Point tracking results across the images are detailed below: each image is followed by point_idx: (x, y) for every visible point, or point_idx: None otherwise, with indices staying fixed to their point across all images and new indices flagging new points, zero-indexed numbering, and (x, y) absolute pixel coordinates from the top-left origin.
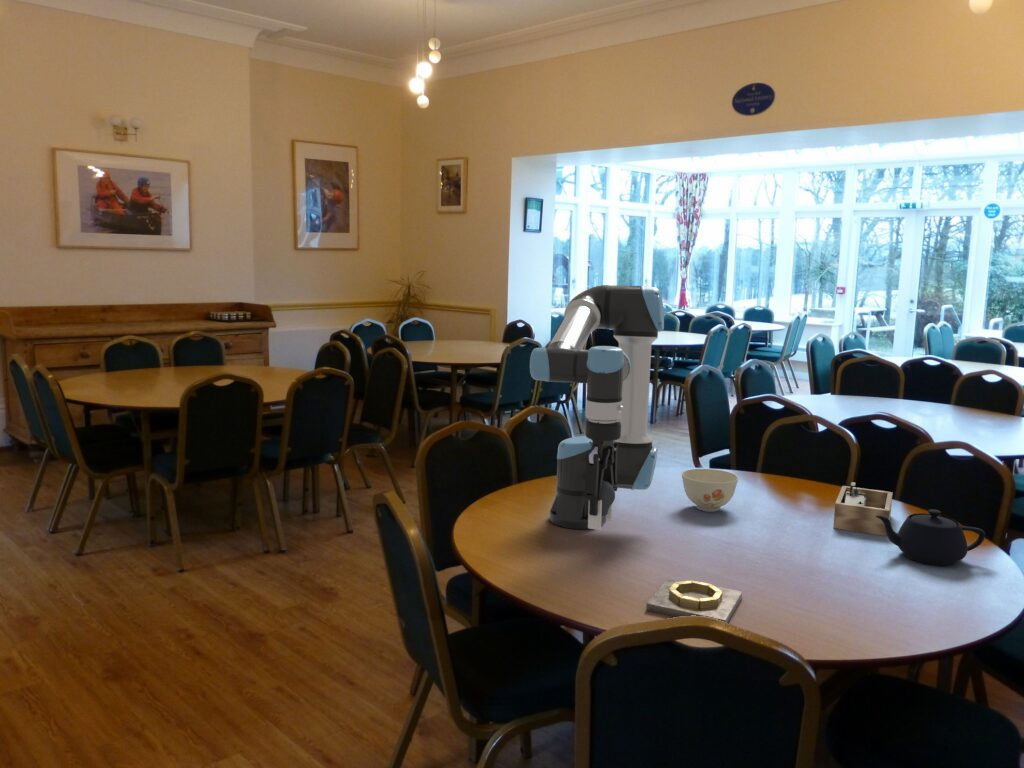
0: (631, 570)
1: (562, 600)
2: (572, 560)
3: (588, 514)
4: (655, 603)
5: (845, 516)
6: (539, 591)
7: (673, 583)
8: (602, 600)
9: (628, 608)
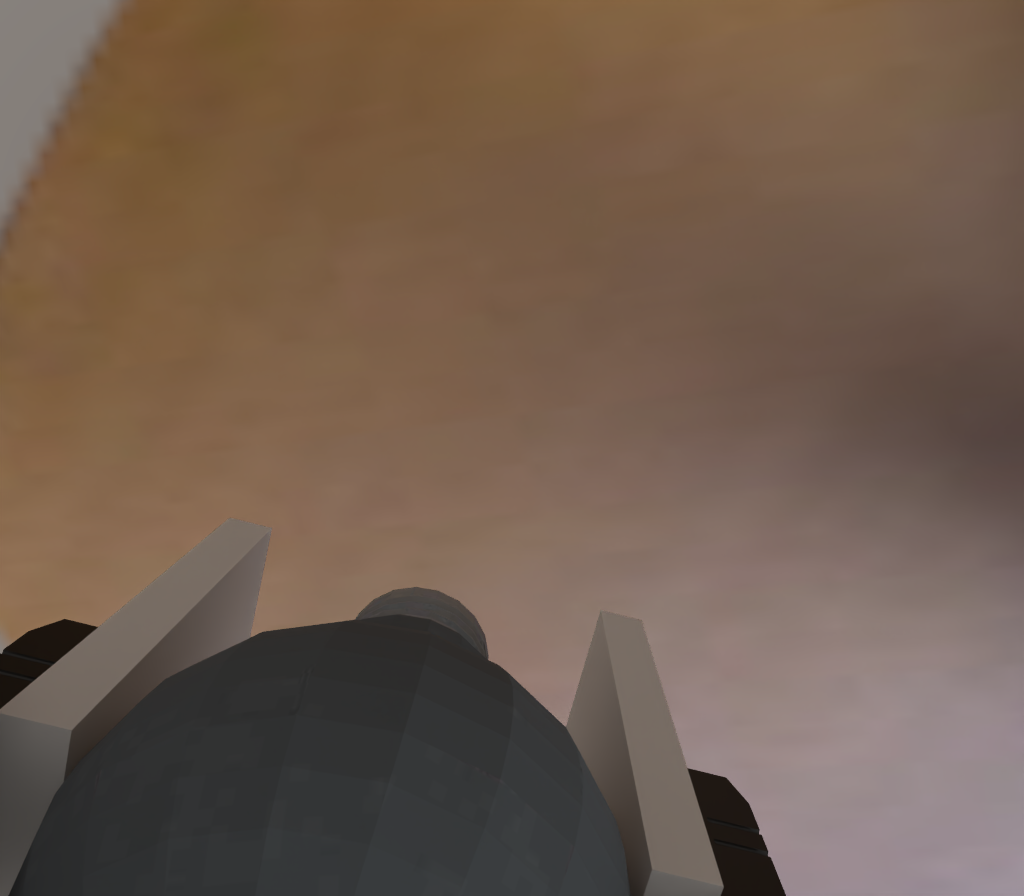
0: (798, 629)
1: (192, 269)
2: (911, 224)
3: (150, 585)
4: None
5: None
6: (284, 89)
7: None
8: (274, 506)
9: None
